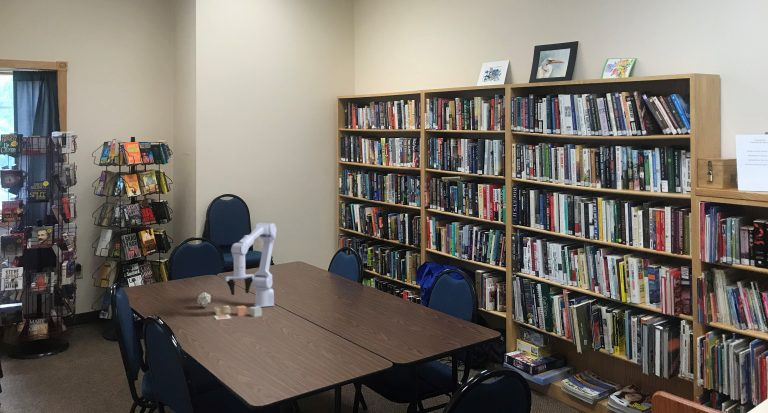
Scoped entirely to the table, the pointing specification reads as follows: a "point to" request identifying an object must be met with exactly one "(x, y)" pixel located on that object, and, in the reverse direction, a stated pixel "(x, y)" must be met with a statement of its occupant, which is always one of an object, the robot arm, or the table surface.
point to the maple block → (222, 310)
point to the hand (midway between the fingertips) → (239, 293)
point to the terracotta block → (241, 310)
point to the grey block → (255, 311)
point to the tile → (222, 317)
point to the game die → (204, 299)
